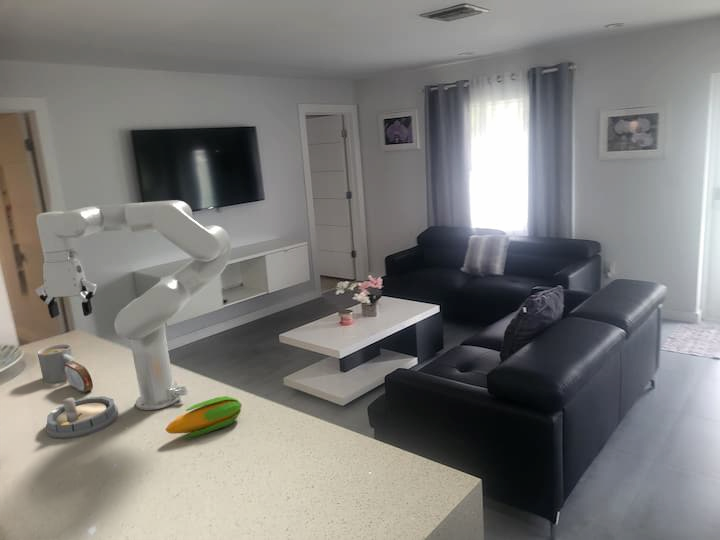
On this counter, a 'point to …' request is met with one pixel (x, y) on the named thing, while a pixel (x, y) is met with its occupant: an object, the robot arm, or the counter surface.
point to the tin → (78, 376)
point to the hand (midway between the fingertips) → (71, 315)
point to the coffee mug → (54, 362)
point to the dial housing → (83, 426)
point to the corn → (206, 417)
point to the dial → (79, 411)
